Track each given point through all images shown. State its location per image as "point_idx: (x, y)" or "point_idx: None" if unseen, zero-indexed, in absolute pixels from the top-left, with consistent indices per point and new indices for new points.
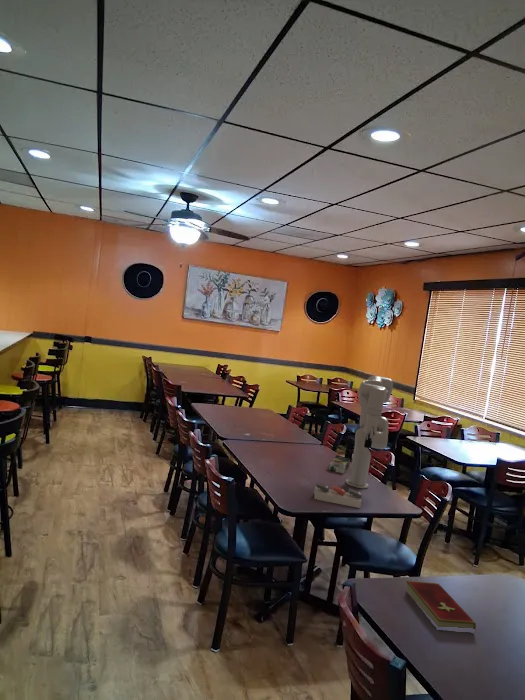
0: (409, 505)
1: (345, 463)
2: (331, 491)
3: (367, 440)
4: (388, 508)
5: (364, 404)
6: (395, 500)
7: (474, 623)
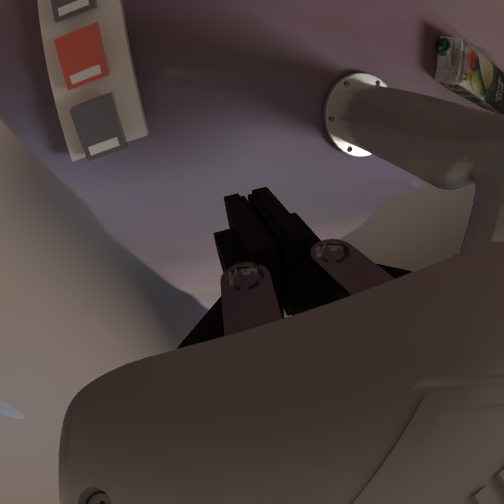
0: None
1: (470, 89)
2: None
3: (231, 279)
4: (167, 239)
5: None
6: None
7: None
